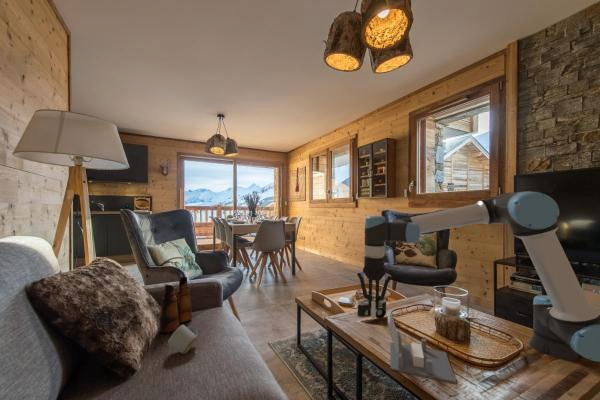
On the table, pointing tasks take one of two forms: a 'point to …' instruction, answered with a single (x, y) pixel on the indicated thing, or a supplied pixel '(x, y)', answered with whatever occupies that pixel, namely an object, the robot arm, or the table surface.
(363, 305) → the camera
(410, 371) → the grey open box
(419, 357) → the pale wooden block
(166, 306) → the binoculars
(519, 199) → the robot arm
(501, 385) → the table surface
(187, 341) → the ceramic mug
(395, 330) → the cover
